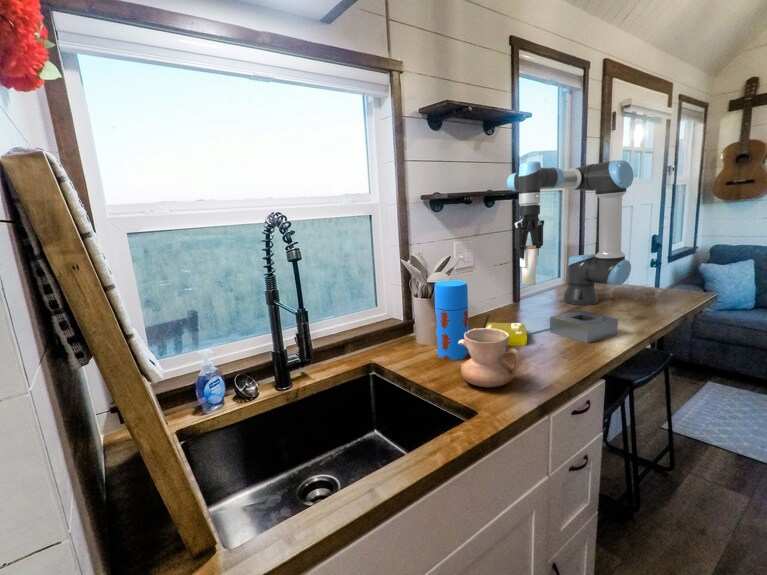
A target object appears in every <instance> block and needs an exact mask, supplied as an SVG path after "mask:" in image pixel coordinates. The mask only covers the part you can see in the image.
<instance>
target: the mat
mask: <svg viewBox="0 0 767 575" xmlns="http://www.w3.org/2000/svg"><path fill="white" fill-rule="evenodd" d="M520 323H522V324H524V325H525V327H526V332H527V336H531V335H534V334H538V333H541V332H545V331H550V326H547V325H544V324H541V323H537V322H533V321H530V320H526V321H521V322H520Z"/></svg>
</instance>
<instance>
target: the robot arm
mask: <svg viewBox="0 0 767 575" xmlns="http://www.w3.org/2000/svg"><path fill="white" fill-rule="evenodd" d="M541 165H542V164H541V162H540V161H535V160H534V161H527V162H523V163H521V164H520V165H519V168H518V170H519V171H518V172H513V173H511V174H509V176H508V177H507V179H506V186H507V188H508V189H509V191H511V190H512V191H511V192H518V204H519V207H518V216H520V218H519V221H517V222H514V223H513V227H514V249H516V250H518V258H519V267H521V268H522V267H527V250H525V247H526V245H527V241H528V237H529V234H530V240H531V245H536V266H538V258H539V249H541V248H542V247H543V246H544V226H545V220H541V219H540V218H539V215H540V213H541V205H540V203H541V190H553V189H555V190H556V189H566V190H568V191H586V192H587V191H589V192H591V191H592V192H593V191H594V192H595V196H596V197H597V198H598V199H599V201H598V209H599V210H598V214H599V215H598V224H599V225H598V252H597V253H596V254H595V253H594V254H593V253H590V254H589V253H588V254H581V255H580V254H579V255H573V256H570V257H569V258H568V263H567V266H568V268H567V269H568V271H567V272H568V273H567V276H568V277H567V287H566V290H565V293H564V295H563V302H564V303H567V304H569V305H571V304H572V305H579V306H589V305H596V304H598V302H599V296H598V294H597V290H596V287H595V284H603V285H608V286H620V285H623V284H624V283H625V282H626V281H627V280H628V279H629V277H630V275H631V271H632V264H631V262H630V261H629V260H628V259H626V255H625V253H623V251H622V225H623V224H622V223H623V222H622V219H623V196H624V195H625V194H626V193H627V189H628V188H629V187H631V185H632V184H633V181H634V171H633V168H632V166H631V164H630V163H629V162H628V161H626V160H623V159H619V160H611V161H605V162H598V163H591V164H587V165H584V166H578V167H571V168H569V169H566V170H562V169H561V168H559V167H553V166H552V167H542V166H541Z"/></svg>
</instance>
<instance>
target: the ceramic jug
mask: <svg viewBox="0 0 767 575" xmlns="http://www.w3.org/2000/svg"><path fill="white" fill-rule="evenodd" d="M464 339H465V340H459V342H458V344H460V345H464V346H465V347H466V348H468V354H469V356H470V358H469V359H467V360H466V361H464V362H463V363H461V364H460V367H461V368H460V373H461V376H462V377H463V379H464V380H465V381H466V382H467V383H469V384H470V385H474V386H476V387H480V388H481V387H482V388H497V387H502V386H504V385H507V384H508V383H510V382H511V381H512V380H513V379H514V378H515V375H516V372H517V371H518V369H519V368H520V366H521V363H522V362H521V361H522V356H521V353H520V352H519V350H518V349H516V348H514V347H508V346H509V345H508V340H509V334H508V333H507V332H505V331H502V330H499V329H492V328H483V327H481V328H473V329H470V330H469V329H468V332H466V333H465V334H464ZM507 354H513V355H514V357H515V363H514V366H513V367H512V365H511V364H510V363H508V362H507V360H504V359H503V357H504V356H506V355H507Z"/></svg>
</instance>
